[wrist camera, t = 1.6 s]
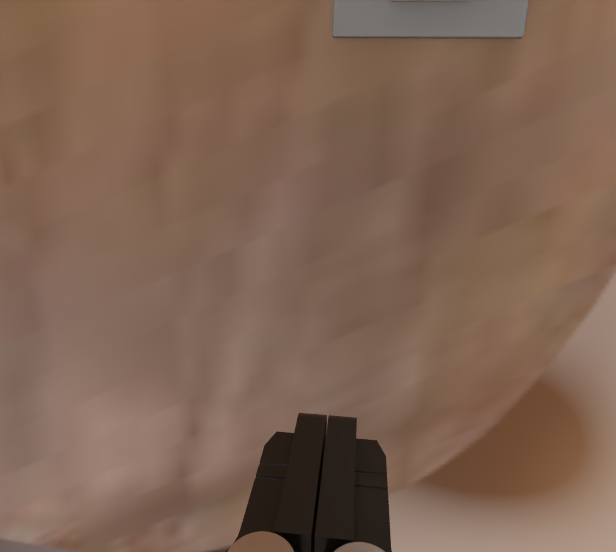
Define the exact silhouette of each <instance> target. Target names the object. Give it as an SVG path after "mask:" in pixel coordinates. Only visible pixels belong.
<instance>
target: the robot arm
mask: <svg viewBox="0 0 616 552" xmlns="http://www.w3.org/2000/svg"><path fill="white" fill-rule="evenodd" d="M356 423H357V418H353V417H341V416H329V418H328V426H327V415H318V414H306V413H299V414H298V418H297V423H296V428H295V432H294V433H287V432H276V433H275V434H274V435H273V437H272V438H271V439H270V440H269V441H268V442H267V443H266V444H265V446H264V449H263V453H262V456H261V460H260V465H259V467H258V470H257V474H256V479H255V481H254V484H253V487H252V491H251V494H250V498H249V501H248V505H247V508H246V512H245V515H244V519H243V522H242V525H241V529H240V532H239V534H238V537H237V538H236V540H235V542H234V543H233V544H232V546H231V547H230V548H229V549H228V550H227V551H226V552H392V551H391V540H390V522H389V504H388V486H387V468H386V456H385V454H384V452H383V451H382V449H381V447H380V445H379V444H378V442H377V440H365V439H356ZM326 429H327V435H326Z"/></svg>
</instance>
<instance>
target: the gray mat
mask: <svg viewBox="0 0 616 552" xmlns="http://www.w3.org/2000/svg"><path fill="white" fill-rule="evenodd" d="M528 2H529V0H471V1H389V0H334V15H333V38H522V37H523V35H524V28H525V22H526V15H527V8H528Z"/></svg>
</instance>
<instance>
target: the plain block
mask: <svg viewBox="0 0 616 552" xmlns="http://www.w3.org/2000/svg"><path fill="white" fill-rule="evenodd" d="M389 1H471V0H389Z"/></svg>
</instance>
